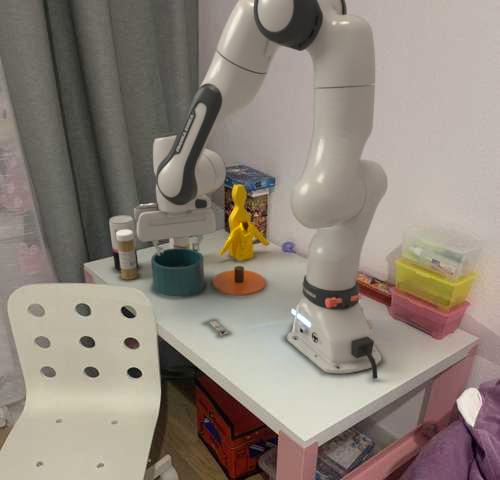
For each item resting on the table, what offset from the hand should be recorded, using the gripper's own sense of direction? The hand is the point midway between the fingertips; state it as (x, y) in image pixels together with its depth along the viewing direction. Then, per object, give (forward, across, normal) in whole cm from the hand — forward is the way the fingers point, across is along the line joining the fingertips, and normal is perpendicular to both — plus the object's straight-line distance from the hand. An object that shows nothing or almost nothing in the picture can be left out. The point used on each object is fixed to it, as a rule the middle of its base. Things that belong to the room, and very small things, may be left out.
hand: (178, 252), depth 128 cm
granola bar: (+11, +3, -23) cm, 26 cm away
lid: (+10, +16, -3) cm, 19 cm away
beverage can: (+10, -12, +17) cm, 23 cm away
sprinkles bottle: (+10, -12, +11) cm, 19 cm away
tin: (+10, 0, +1) cm, 10 cm away
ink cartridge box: (+10, +4, +17) cm, 20 cm away
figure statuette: (+10, +23, +15) cm, 29 cm away
